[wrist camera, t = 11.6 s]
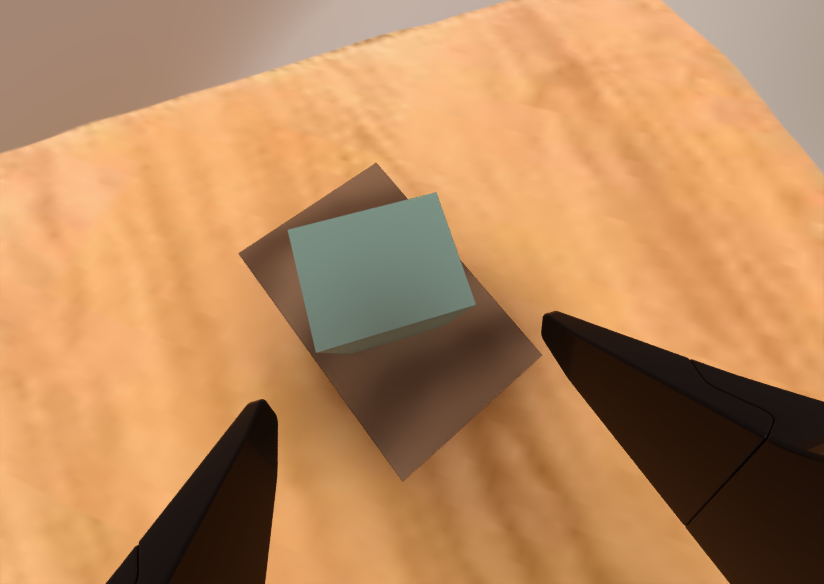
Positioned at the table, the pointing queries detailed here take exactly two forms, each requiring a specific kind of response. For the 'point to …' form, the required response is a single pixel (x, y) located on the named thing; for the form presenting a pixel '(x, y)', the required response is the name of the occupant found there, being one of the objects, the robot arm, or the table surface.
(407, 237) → the seafoam square prism
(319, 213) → the stud board
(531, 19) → the table surface
